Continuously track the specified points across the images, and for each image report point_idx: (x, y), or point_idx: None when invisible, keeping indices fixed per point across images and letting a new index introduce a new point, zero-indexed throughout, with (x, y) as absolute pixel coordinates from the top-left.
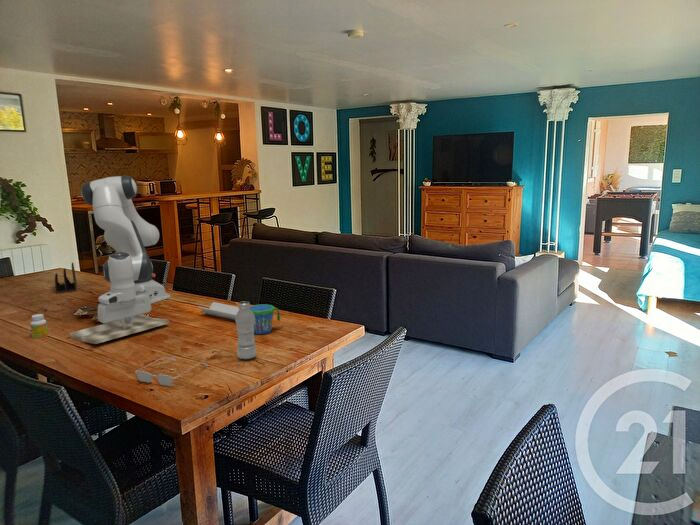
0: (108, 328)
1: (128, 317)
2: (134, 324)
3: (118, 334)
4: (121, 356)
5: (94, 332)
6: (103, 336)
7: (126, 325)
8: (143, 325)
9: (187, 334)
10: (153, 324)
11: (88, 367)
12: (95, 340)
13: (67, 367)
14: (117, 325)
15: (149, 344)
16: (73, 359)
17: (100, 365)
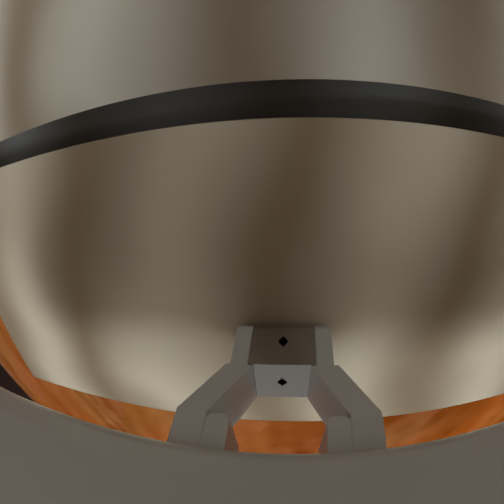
0: (150, 48)
1: (324, 442)
2: (449, 222)
3: (156, 403)
4: (152, 430)
5: (14, 108)
6: (64, 361)
7: (261, 388)
8: (407, 384)
9: (454, 423)
10: (447, 403)
11: (63, 407)
12: (36, 375)
13: (11, 366)
14: (305, 3)
15: (289, 430)
16: (5, 333)
17: (91, 421)
